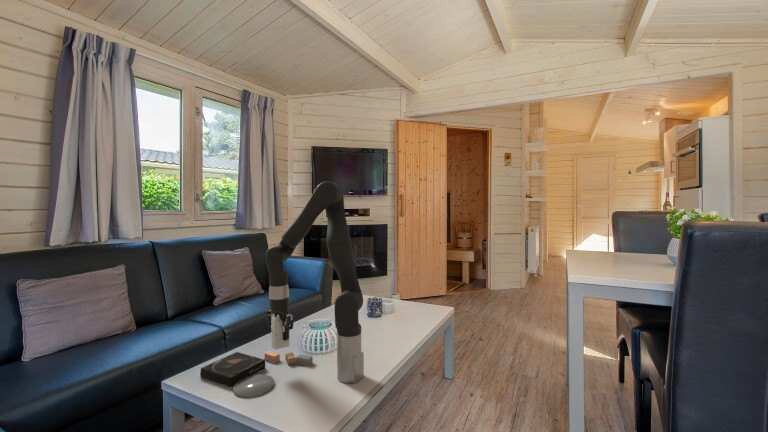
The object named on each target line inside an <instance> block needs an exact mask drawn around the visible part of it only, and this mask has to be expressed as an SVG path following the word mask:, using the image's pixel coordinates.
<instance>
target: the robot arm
mask: <svg viewBox="0 0 768 432" xmlns="http://www.w3.org/2000/svg"><path fill="white" fill-rule="evenodd" d="M344 198H345V197H344V191H343V189H342V186H341V185H339V184H338V183H336V182H333V181H322V182H321V183H319V184H318V185H317V186H316V188H315V189H314V191H313V193H312V194H311V196H310V197H309V200H308V201H307V202H306V204H305V206H303V207H304V208H303V209H302V210H301V212H300V213H299V214H298V215H297V217H296V218H295V219H294V220H293V222H292V223H291V224H290V225H289V226H288V228H286V230H285V231H284V232H283V234H282V236H281V240H280V242H278V244H277V245H274V246H271V247H269V248H267V250H266V252H265V254H264V255H265V256H264V257H265V258H264V259H265V260H264V261H265V265H266V269H267V272H268V275H269V276H268V277H269V278H268V281H269V282H268V284H269V287H268V303H269V307H268V308H269V310H266V311H265V316H266V323H267V327H271V316H272V317H277V318H278V319H279V323H280V326H282V329H283V341H286V340H288V339H289V340H290V331H291V330H293V329H294V321H295V314H293V313H292V314H291V313H289V310H288V309H289V308H290V288H289V275H288V274H289V273H288V271H287V270H286V269H284V262H286V261H288V260H289V258H291V256H292V255H293V253H294V251H295V249H296V247H297V246H298V245H299V244H300V243H301V242H302V241H303V239H304V238H305V237H306V236H307V235H308V233H309V232H310V230H311V229H312V227H313V225H314V223H315V221H316V220H317V218H318V217H319V215H321V213H322V212H323V211H325V214H326V219H327V225H326V226H327V227H326V229H327V230H326V246H327V251H328V257H329V260H330V263H331V265H332V266H333V269H334V271H335V272H336V275H337V276H338V279H339V284H340V285H339V286H340V292H341V293H340V294H339V295H337V296H336V298H335V300H334V301H335V302H334V324H335V328H336V363H337V364H336V367H337V371H336V372H337V373H336V377H337V380H338V381H339V382H342V383H345V384H355V383H357V382H358V381H359V380H361V379H362V378H364V377H365V373H364V369H365V366H364V365H365V363H364V359H365V358H364V355H365V354H364V352H363V351H362V325H361V324H360V323H359V321H360V320H359V311H360V310H361V309H362V307H363V305H364V297H363V293H362V290H361V286H360V283H359V279H358V274H357V269H356V264H355V263H356V261H355V257H354V250H353V244H352V240H351V235H350V232H349V227H348V226H349V225H348V223H347V218H346V212H345V211H346V210H345V199H344ZM285 320H287V322H285V323H283V322H284V321H285ZM285 325H286V328H285Z"/></svg>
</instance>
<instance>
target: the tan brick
mask: <svg viewBox="0 0 768 432" xmlns="http://www.w3.org/2000/svg"><path fill="white" fill-rule="evenodd" d="M296 357H297V356H296V355H295V353H294V352H293V351H289V352H285V357H284V359H285V362H286V364H287V365H288V366H289V367H290V366H292V365H297V364H296Z"/></svg>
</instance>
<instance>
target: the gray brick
mask: <svg viewBox="0 0 768 432" xmlns="http://www.w3.org/2000/svg"><path fill="white" fill-rule="evenodd" d="M295 357H296V364H295V365H299V366H300V365H301V366H306V367H310V365H313V359H314V357H313V356H312V355H305V354H301V353H300V354H298V355H297V356H295Z"/></svg>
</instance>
